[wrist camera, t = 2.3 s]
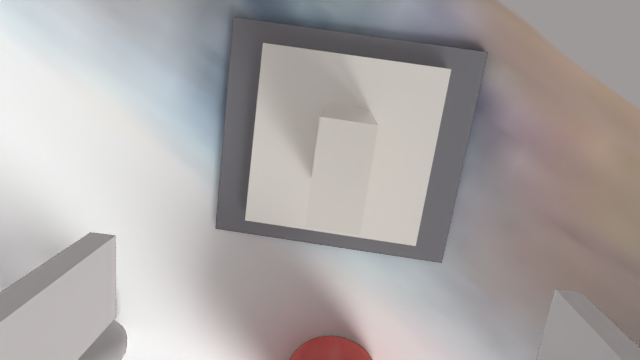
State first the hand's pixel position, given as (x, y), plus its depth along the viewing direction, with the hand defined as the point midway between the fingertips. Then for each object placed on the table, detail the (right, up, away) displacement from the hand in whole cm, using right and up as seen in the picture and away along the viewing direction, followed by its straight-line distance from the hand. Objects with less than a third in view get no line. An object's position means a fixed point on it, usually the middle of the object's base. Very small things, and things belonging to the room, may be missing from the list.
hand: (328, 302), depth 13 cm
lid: (+1, +6, +20) cm, 21 cm away
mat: (+2, +6, +21) cm, 22 cm away
